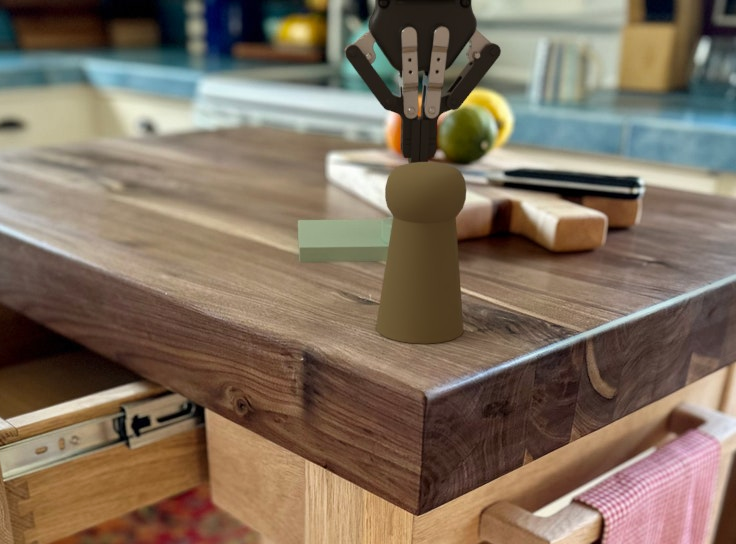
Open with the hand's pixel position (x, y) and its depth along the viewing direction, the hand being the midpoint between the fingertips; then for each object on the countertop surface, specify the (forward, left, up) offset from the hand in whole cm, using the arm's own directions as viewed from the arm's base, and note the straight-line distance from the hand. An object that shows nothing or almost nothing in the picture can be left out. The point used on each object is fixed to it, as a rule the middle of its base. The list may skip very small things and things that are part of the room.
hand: (418, 163), depth 73 cm
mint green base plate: (+4, -3, -8) cm, 9 cm away
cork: (+2, +19, -8) cm, 20 cm away
